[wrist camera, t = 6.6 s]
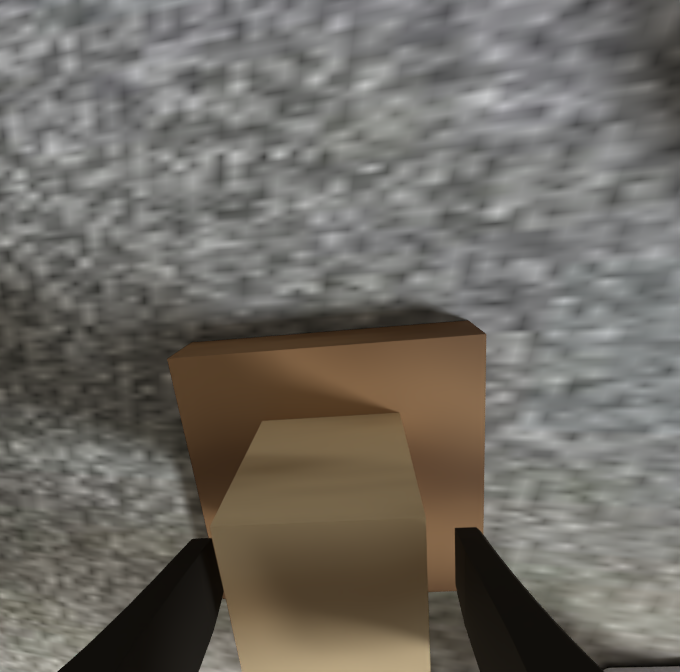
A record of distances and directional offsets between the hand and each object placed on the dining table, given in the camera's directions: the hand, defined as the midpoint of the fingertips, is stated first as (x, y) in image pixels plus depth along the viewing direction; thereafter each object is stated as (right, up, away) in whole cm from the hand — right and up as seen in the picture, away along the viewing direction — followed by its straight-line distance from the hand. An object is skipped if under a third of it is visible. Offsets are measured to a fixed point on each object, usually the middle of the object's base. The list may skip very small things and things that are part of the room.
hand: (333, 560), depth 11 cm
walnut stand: (0, +1, +5) cm, 5 cm away
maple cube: (0, +1, +3) cm, 3 cm away
